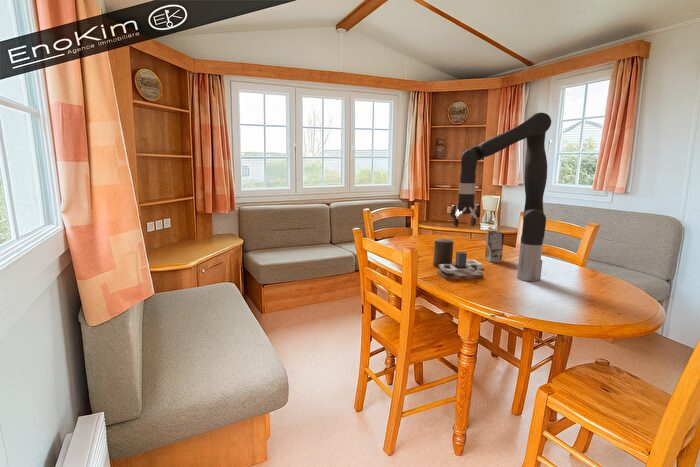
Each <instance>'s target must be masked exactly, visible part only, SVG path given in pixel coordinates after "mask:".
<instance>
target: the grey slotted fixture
mask: <svg viewBox="0 0 700 467" xmlns="http://www.w3.org/2000/svg"><path fill="white" fill-rule="evenodd" d="M437 268H439V269H438V270H436V273H437V274H438V275H439V276H440V277H441V278H443V279H444V280H445V281H447V280H448V281H449V280H465V279H466V280H467V279H471V280H472V279H483V278H484V273H483V271H482V270H481V269H477V265H476V264H471V266H469V265H467V264H466V268H461V269H457V268H456V267H455V263H452V264H439V266H438V267H437Z"/></svg>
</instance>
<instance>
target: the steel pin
mask: <svg viewBox="0 0 700 467" xmlns="http://www.w3.org/2000/svg"><path fill="white" fill-rule="evenodd" d="M467 254H468V253H467V252H466V251H455V263H454V264H455V267H456V268H457V269H461V268H466V260H467Z"/></svg>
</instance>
